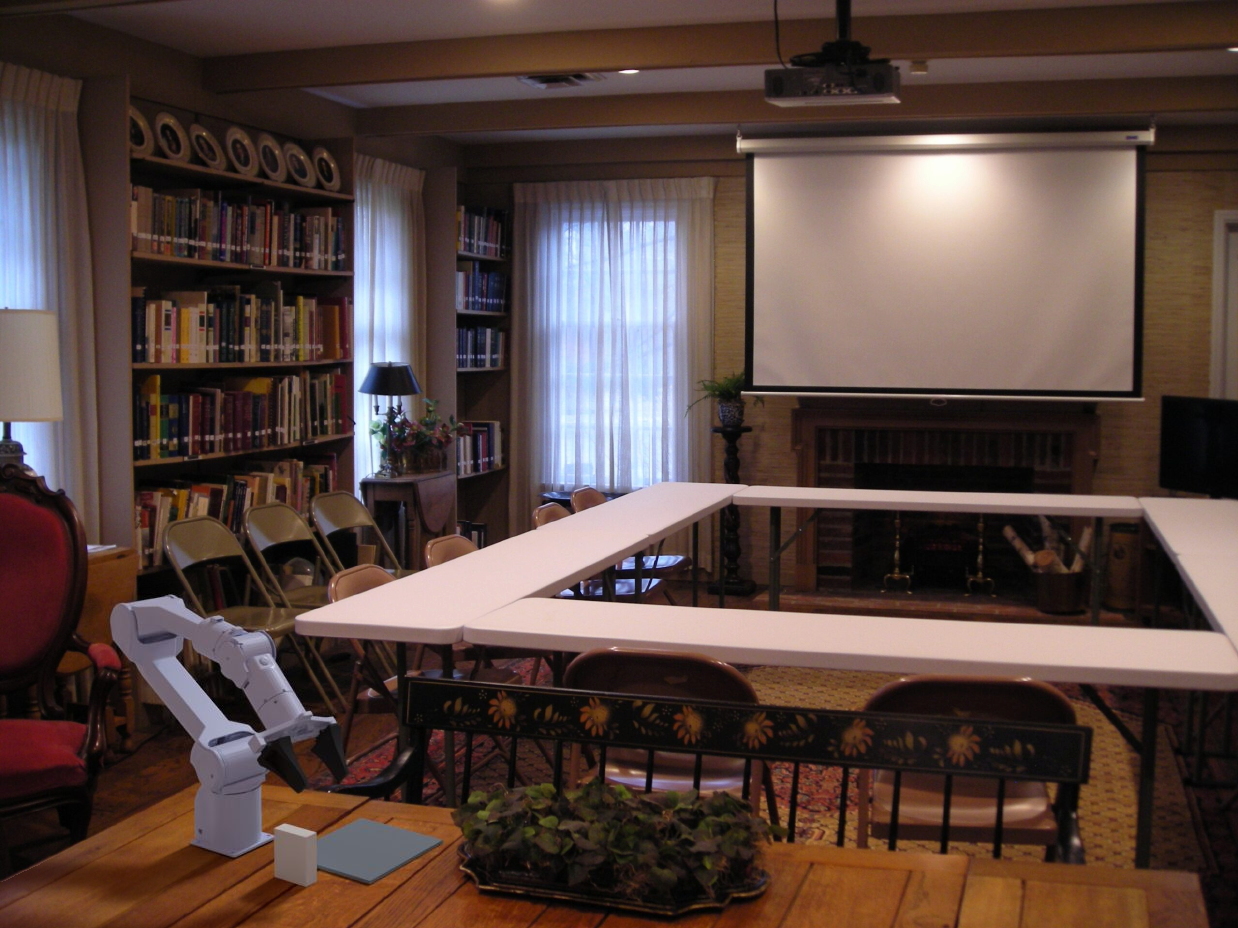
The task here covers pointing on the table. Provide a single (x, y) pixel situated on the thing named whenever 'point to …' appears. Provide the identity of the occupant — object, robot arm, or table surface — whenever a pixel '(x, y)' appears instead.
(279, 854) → the block
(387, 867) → the mat
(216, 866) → the table surface
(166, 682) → the robot arm
